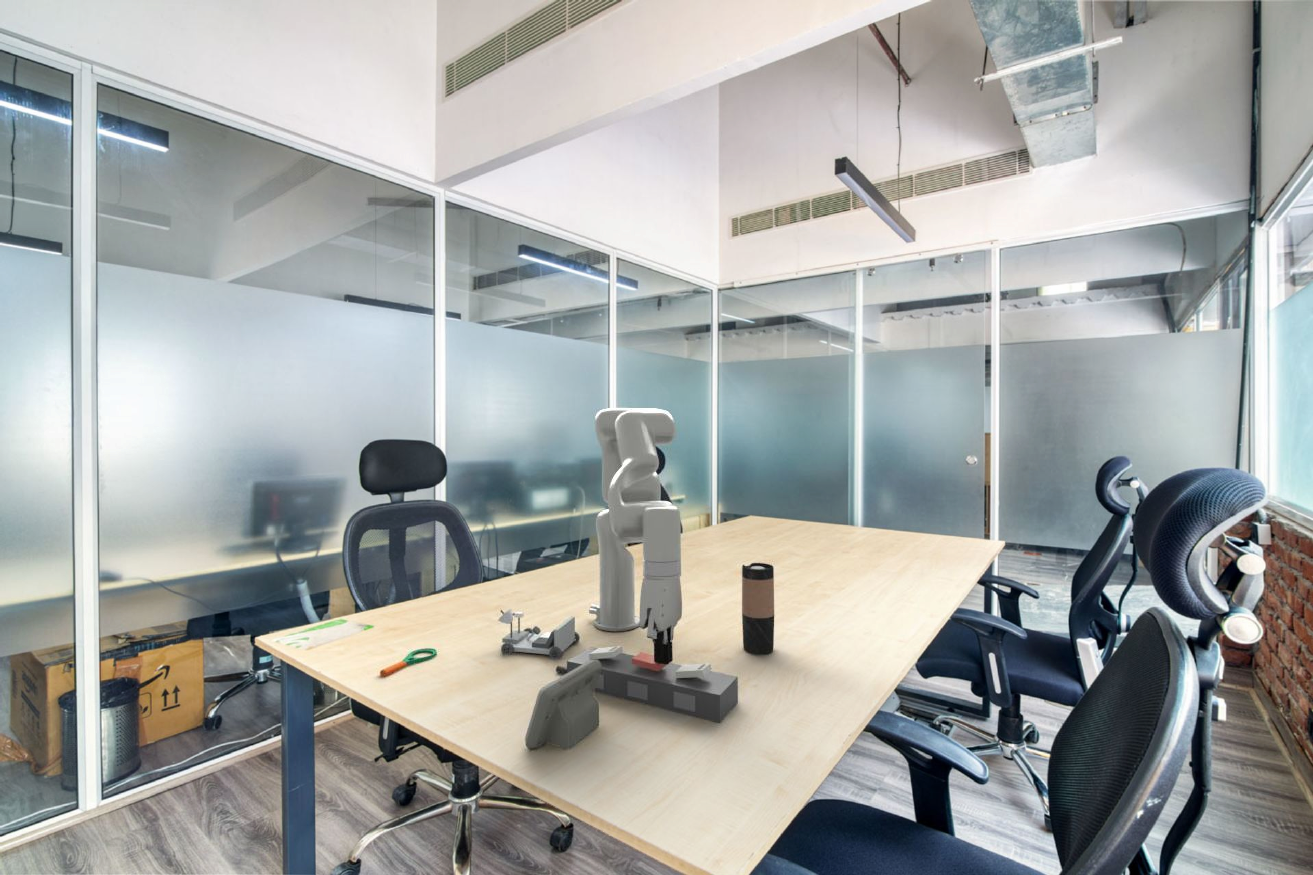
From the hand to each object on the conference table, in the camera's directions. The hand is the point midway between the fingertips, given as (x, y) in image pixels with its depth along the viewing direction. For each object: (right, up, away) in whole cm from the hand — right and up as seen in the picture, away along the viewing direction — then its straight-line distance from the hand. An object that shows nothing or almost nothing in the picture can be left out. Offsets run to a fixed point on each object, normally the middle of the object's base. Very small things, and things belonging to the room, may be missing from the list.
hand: (663, 661), depth 114 cm
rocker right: (+6, -2, -3) cm, 7 cm away
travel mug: (+23, -7, +25) cm, 35 cm away
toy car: (-31, -8, +28) cm, 42 cm away
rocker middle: (-3, -2, +2) cm, 4 cm away
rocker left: (-12, -2, +7) cm, 14 cm away
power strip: (-5, -7, +3) cm, 9 cm away
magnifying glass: (-58, -8, +18) cm, 61 cm away
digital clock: (-17, -8, -13) cm, 23 cm away
